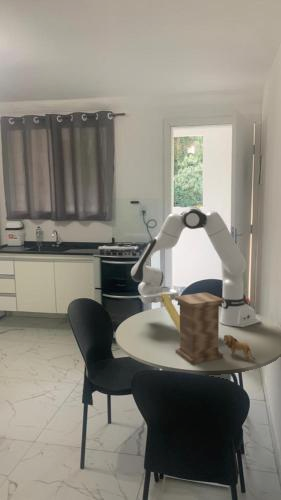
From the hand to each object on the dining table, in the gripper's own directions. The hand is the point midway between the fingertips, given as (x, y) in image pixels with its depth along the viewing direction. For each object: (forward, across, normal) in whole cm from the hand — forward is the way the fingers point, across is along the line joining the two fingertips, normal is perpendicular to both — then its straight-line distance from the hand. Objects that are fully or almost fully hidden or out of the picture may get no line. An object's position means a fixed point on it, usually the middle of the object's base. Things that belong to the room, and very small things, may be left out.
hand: (166, 300), depth 200 cm
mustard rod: (+6, 0, +6) cm, 8 cm away
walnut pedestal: (+31, 0, +17) cm, 36 cm away
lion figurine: (+40, +14, +17) cm, 46 cm away
